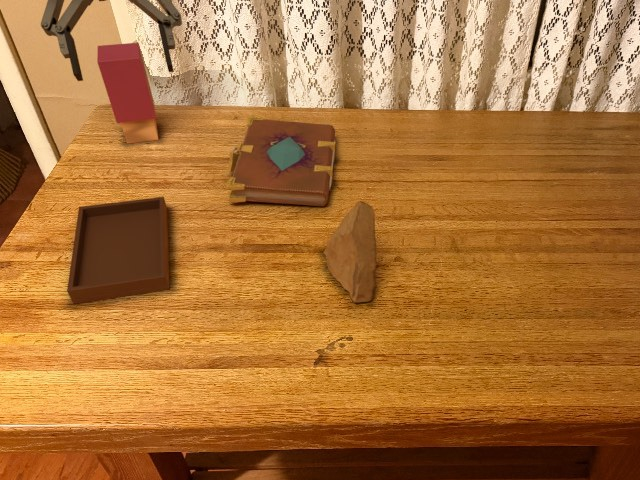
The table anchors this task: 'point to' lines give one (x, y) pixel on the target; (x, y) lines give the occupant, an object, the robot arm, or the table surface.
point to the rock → (354, 252)
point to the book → (283, 163)
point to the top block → (126, 82)
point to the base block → (140, 131)
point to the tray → (120, 250)
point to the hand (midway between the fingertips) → (125, 73)
